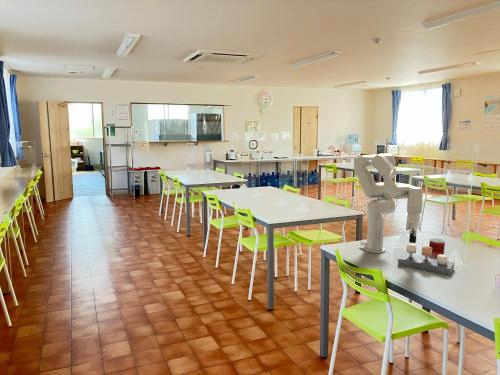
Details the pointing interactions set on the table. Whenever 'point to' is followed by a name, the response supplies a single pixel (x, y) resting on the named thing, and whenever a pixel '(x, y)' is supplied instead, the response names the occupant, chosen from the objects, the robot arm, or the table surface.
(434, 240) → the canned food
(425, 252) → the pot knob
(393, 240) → the table surface
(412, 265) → the console
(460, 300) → the table surface
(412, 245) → the knob
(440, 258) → the knob
